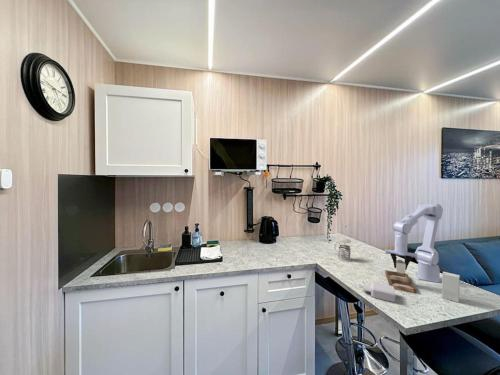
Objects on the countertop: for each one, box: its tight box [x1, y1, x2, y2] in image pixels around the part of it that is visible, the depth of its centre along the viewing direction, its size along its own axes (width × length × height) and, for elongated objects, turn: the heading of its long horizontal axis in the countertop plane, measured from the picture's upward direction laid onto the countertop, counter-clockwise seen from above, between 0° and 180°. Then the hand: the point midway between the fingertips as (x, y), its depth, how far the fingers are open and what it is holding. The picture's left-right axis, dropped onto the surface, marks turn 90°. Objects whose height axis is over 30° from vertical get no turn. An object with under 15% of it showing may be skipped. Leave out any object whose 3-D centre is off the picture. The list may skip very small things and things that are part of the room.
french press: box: [334, 224, 353, 263], centre depth 153 cm, size 10×12×25 cm
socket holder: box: [384, 269, 417, 294], centre depth 119 cm, size 11×21×2 cm, turn 154°
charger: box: [358, 281, 396, 303], centre depth 105 cm, size 5×9×15 cm
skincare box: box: [441, 271, 461, 303], centre depth 102 cm, size 6×4×12 cm
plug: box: [394, 259, 406, 273], centre depth 117 cm, size 4×5×6 cm
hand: (400, 268), depth 117 cm, fingers closed on plug, 4 cm apart
